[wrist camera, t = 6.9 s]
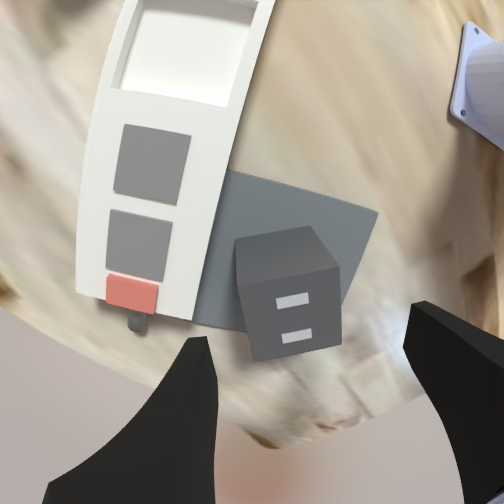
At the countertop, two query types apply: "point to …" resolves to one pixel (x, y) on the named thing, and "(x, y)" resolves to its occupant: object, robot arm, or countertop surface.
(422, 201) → the countertop surface
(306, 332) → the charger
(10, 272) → the countertop surface
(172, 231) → the strip
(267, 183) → the mat
